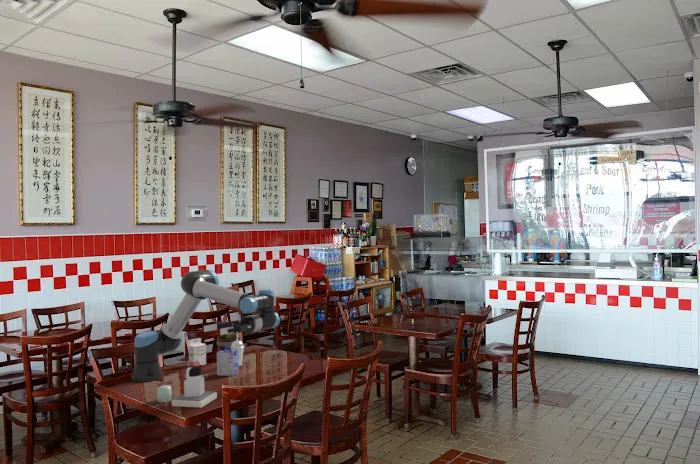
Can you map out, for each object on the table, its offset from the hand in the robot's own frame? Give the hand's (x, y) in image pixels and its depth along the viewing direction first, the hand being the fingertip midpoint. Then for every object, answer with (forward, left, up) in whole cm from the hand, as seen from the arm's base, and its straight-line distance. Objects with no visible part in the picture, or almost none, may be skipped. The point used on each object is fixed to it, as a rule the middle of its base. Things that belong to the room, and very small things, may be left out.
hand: (212, 330), depth 247 cm
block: (-20, -8, -30) cm, 37 cm away
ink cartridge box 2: (-12, +38, -30) cm, 50 cm away
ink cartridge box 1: (-39, +55, -30) cm, 73 cm away
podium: (-5, -8, -30) cm, 32 cm away
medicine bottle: (-5, -8, -27) cm, 29 cm away
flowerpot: (-29, +75, -30) cm, 85 cm away
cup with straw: (-16, +58, -30) cm, 67 cm away
